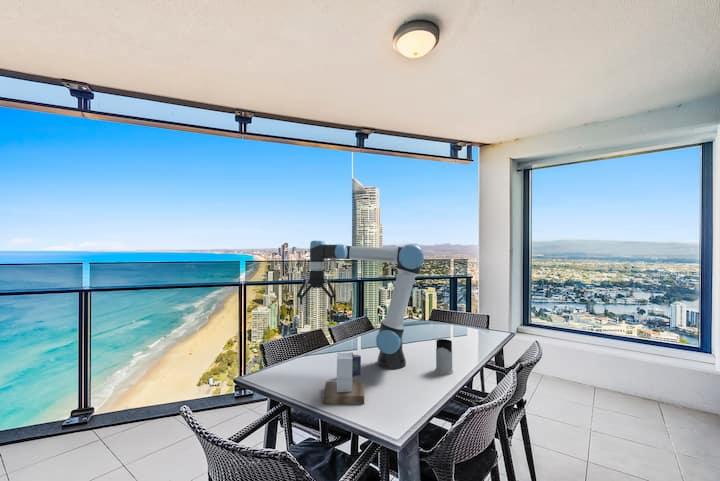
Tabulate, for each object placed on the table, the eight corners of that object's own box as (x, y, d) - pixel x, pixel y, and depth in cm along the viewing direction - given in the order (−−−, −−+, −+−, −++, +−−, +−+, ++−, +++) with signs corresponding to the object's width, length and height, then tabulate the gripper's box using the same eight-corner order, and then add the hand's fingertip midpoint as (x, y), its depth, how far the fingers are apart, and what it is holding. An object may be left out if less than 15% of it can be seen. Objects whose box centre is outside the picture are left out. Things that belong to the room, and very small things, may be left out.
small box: (352, 392, 122) (352, 358, 123) (336, 392, 122) (336, 359, 123) (351, 384, 130) (352, 352, 131) (336, 384, 130) (337, 352, 131)
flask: (344, 378, 144) (345, 355, 145) (341, 376, 147) (342, 353, 147) (361, 374, 149) (361, 352, 149) (358, 372, 151) (358, 350, 152)
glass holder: (433, 372, 152) (433, 341, 153) (440, 364, 165) (439, 335, 166) (451, 375, 148) (451, 344, 149) (456, 366, 161) (456, 337, 162)
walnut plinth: (363, 388, 133) (363, 381, 133) (364, 404, 119) (364, 396, 119) (326, 388, 132) (326, 381, 133) (322, 403, 118) (322, 396, 119)
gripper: (340, 269, 165) (340, 309, 164) (294, 269, 165) (293, 309, 163) (340, 270, 158) (339, 312, 156) (291, 270, 157) (290, 312, 156)
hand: (316, 311), depth 160 cm, fingers open, 13 cm apart
